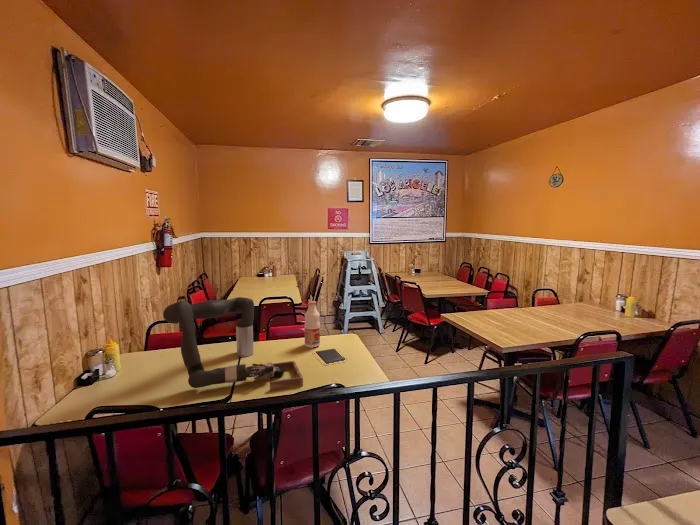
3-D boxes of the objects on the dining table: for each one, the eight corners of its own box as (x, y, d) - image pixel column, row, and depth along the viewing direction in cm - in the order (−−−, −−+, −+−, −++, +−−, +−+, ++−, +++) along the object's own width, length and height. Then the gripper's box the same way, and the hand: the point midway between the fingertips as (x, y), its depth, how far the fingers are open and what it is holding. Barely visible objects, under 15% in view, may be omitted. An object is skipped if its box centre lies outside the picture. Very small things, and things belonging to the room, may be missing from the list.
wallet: (348, 359, 190) (322, 363, 184) (348, 362, 190) (322, 367, 184) (335, 346, 208) (311, 350, 202) (335, 349, 209) (311, 353, 203)
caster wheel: (284, 377, 176) (277, 383, 166) (263, 371, 178) (256, 376, 168) (287, 364, 176) (280, 370, 166) (267, 358, 178) (259, 363, 168)
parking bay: (265, 372, 176) (264, 364, 176) (294, 367, 182) (294, 360, 181) (270, 390, 157) (270, 382, 157) (302, 385, 163) (302, 377, 162)
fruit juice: (306, 342, 218) (306, 299, 214) (320, 343, 218) (320, 300, 214) (303, 348, 209) (303, 303, 205) (318, 348, 208) (318, 303, 205)
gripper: (235, 372, 154) (274, 366, 160) (235, 360, 166) (271, 356, 172) (236, 387, 155) (275, 382, 161) (235, 375, 167) (271, 370, 173)
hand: (273, 368), depth 166 cm, fingers closed
